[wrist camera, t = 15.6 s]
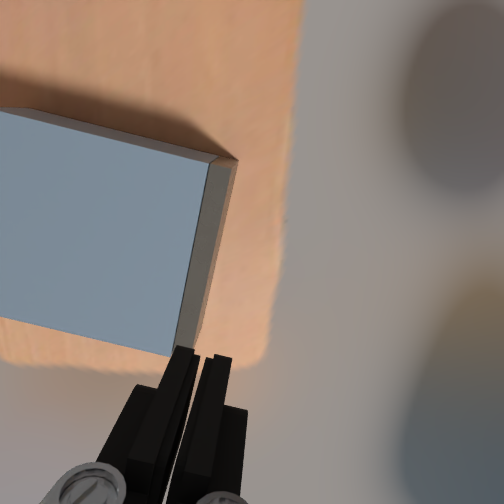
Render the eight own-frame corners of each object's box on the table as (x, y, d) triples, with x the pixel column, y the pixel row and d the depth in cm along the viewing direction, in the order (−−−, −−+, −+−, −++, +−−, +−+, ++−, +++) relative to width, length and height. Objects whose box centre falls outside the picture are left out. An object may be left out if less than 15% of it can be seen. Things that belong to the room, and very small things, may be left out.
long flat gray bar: (220, 155, 42) (210, 163, 35) (238, 160, 42) (231, 168, 35) (185, 324, 49) (171, 355, 42) (201, 327, 49) (189, 360, 42)
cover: (28, 107, 41) (-18, 106, 35) (219, 155, 41) (208, 163, 35) (21, 285, 48) (-19, 312, 42) (184, 325, 48) (170, 357, 42)
